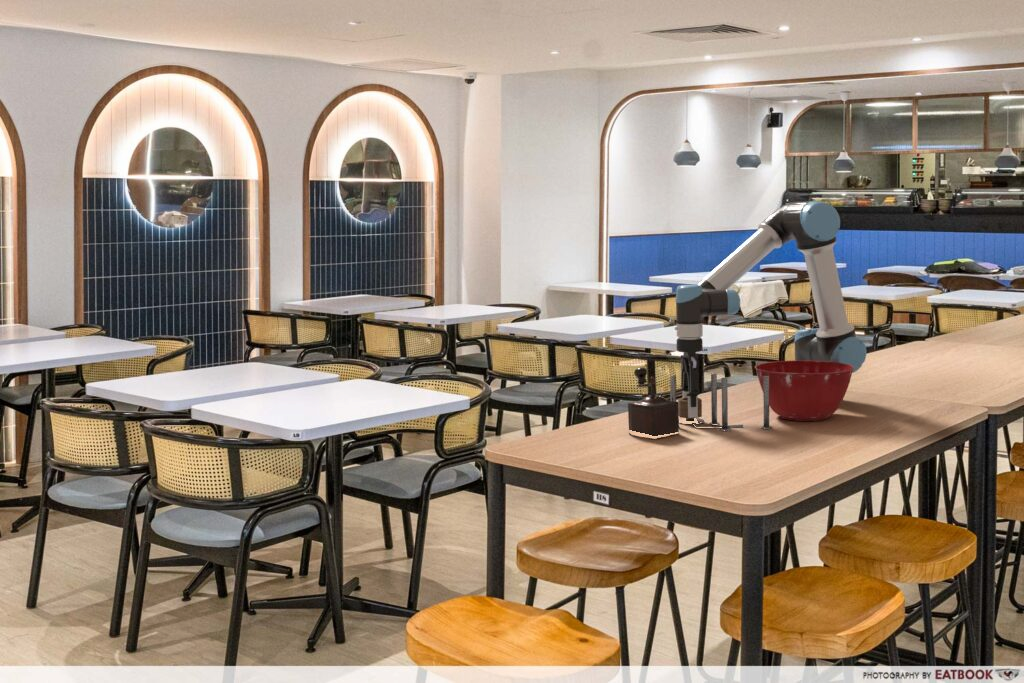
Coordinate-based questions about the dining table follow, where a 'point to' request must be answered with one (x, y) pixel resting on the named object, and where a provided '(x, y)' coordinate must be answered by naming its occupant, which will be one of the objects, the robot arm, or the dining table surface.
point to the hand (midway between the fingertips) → (690, 415)
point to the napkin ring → (684, 407)
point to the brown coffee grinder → (652, 411)
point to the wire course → (725, 401)
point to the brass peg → (693, 419)
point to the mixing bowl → (805, 387)
